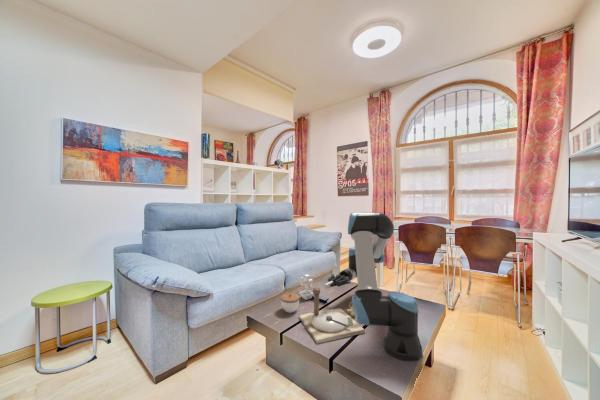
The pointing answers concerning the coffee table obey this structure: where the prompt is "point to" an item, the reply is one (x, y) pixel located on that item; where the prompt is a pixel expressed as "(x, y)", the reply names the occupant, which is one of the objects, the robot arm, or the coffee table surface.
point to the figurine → (306, 287)
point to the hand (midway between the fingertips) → (325, 286)
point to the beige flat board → (328, 336)
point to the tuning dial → (327, 317)
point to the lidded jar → (290, 302)
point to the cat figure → (350, 310)
